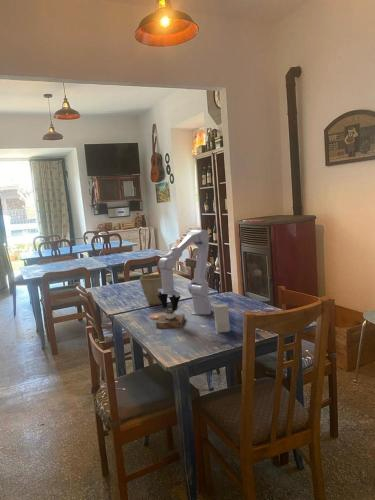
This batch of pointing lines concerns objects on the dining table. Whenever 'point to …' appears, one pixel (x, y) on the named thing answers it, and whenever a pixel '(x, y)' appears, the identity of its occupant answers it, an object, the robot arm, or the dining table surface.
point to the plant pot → (151, 287)
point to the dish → (156, 316)
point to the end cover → (170, 314)
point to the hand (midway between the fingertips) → (169, 309)
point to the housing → (170, 321)
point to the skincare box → (221, 318)
